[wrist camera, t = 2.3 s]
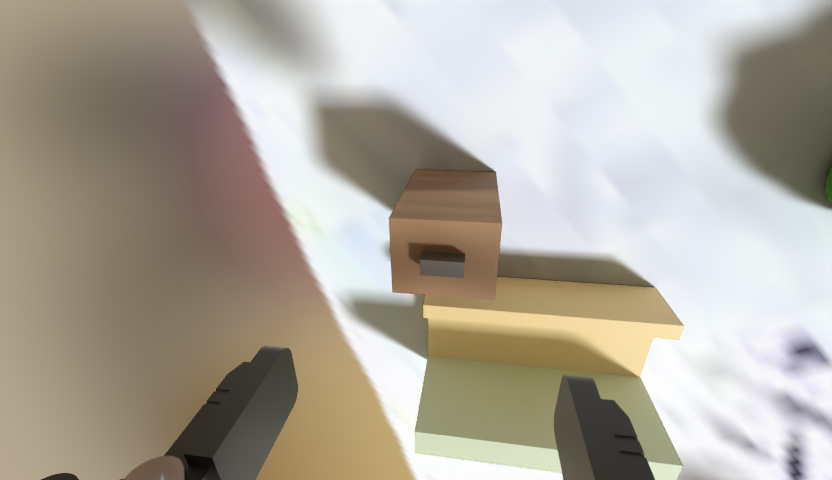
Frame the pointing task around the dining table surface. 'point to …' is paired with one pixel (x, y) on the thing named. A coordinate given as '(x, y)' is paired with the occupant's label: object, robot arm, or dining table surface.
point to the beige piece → (538, 368)
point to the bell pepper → (829, 186)
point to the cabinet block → (447, 235)
